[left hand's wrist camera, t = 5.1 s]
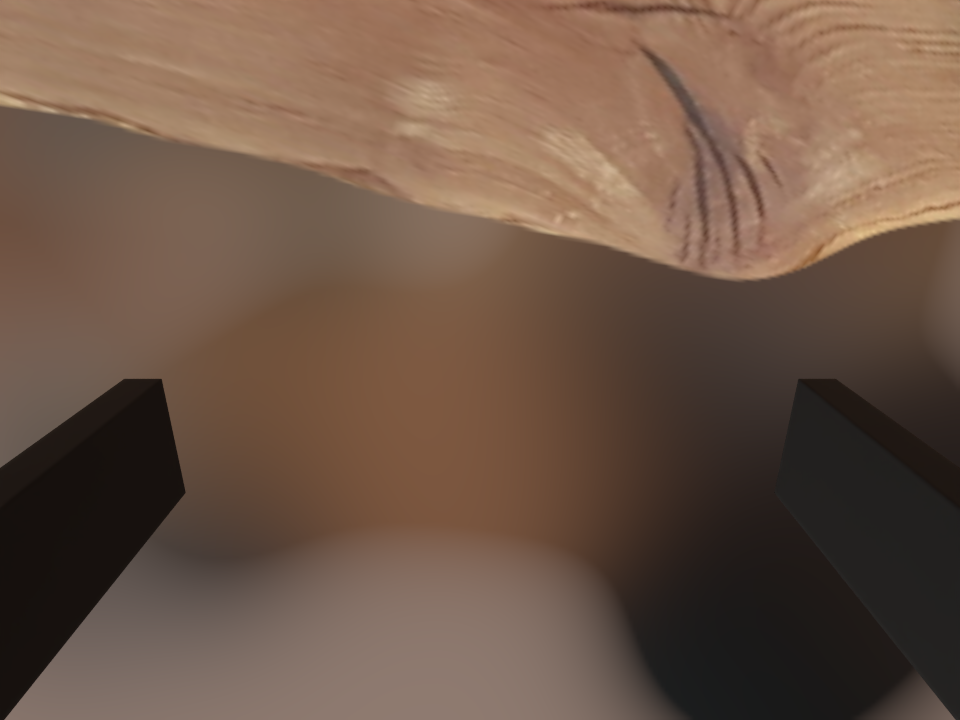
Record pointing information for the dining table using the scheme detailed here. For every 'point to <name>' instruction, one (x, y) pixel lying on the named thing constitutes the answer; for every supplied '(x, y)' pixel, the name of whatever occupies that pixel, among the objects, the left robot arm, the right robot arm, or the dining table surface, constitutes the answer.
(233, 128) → the dining table surface
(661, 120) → the dining table surface
